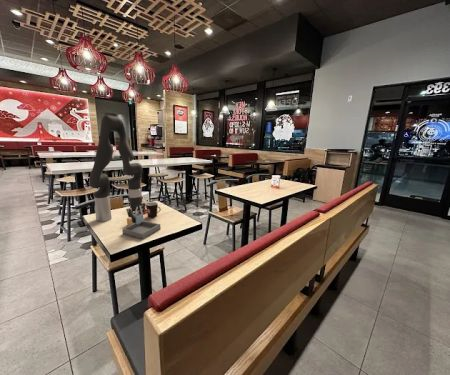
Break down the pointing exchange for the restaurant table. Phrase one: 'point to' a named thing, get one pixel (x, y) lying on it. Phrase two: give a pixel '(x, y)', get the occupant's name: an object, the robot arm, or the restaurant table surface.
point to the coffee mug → (152, 209)
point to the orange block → (129, 221)
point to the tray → (141, 229)
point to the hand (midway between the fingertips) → (137, 221)
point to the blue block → (138, 218)
